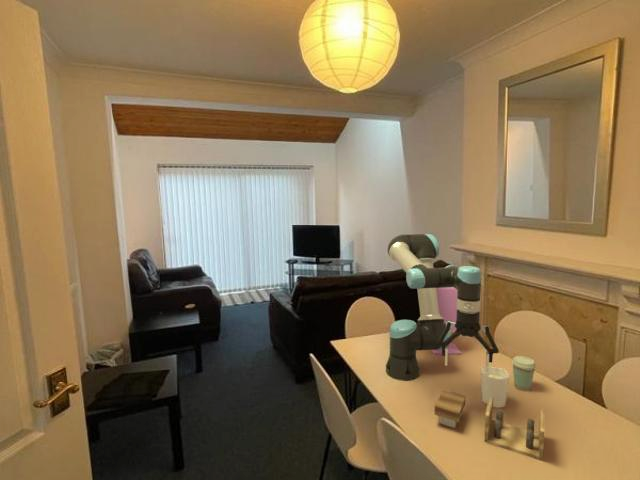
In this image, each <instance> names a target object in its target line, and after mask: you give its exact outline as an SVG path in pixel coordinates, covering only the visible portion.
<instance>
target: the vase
mask: <svg viewBox="0 0 640 480" xmlns="http://www.w3.org/2000/svg"><path fill="white" fill-rule="evenodd" d="M436 290H437V298H438V305H439V313H440V316H441V317H443V318H444V322H446V323H447V321H448V320H450V321H451V322H454V323H455V322H456V318H457V310H458V309H457V289H456V288H454V287H448V288H436ZM450 330H451V331H456V330H457V329H456V327H455V326H453V327H452V328H450ZM430 352H431V353H432V354H433V355H434V356H435V355H437V356H440V355H442V349H439V350H430ZM461 354H462V351H461V350H460V349H459V348H458V347H457V345H455V344H454V342H453V341H452V342H451V343H450V344H449V346H448V356H449V355H461Z"/></svg>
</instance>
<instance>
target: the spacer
mask: <svg viewBox="0 0 640 480" xmlns="http://www.w3.org/2000/svg"><path fill="white" fill-rule="evenodd" d="M439 417H440V419H439V422H440V423H439V424H441V425H443V426H448V427H451V428H453V429H455V428H456V427H457V425H458V422H457V421H454V420H450V419H447V418H444V417H441V416H439Z"/></svg>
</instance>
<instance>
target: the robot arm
mask: <svg viewBox="0 0 640 480" xmlns="http://www.w3.org/2000/svg"><path fill="white" fill-rule="evenodd" d="M389 241H390V242H389V243H388V245H387V253H388V255H389V257H390V259H392V260H393V261H394V262H396V263H398V265H399V266H400V267H401V268H402V270H403V271H404V272H405V274H406V275H405V278H406V283H407V286H408V287H409V289H417V297H418V306H419V315H420V316H419V318H418V319H417V322H415V321H414V320H411V319H399V320H396V321H393V323H392V324H390V327H389V328H390V329H389V355H388V358H387V362H386V364H385V373H386V374H387V376H389V377H391V378H393V379H395V380H399V381H413V380H415V379H417V378H419V376H420V373H421V372H420V371H421V369H420V366H419V365H420V364H419V362H418V360H417V352H418V351H431V350H439V349H442V356H443V357H445V358H444V366H448V356H449V355H448V346H449V344H450V343H451V342H453V341H455V340H456V338H457V337H459V336H460V335H461V336H462V337H470V338H473V337H475V339H477V341H478V342H479V343H480V344H481V345H482V346H483V348H484V349H485V350H486V351H485V367H486V372H488V370H489V365H490V363H493V356H494V354H499V352H500V351H499V348H498V345H497V344H496V342H495V340H494V338H493V336H492V334H491V332H490V327H489V324H487V323H486V324H484V325H481V324H480V313H481V312H480V311H481V295H482V294H481V293H482V291H481V290H482V270H481V269H480V268H479V267H477V266H472V265H469V266H468V265H463V266H457V265H451V264H450V265H447V266H445V267H434V263H435V262H436V261H437V260H436V258H438V257H439V254H440V245H439V242H438V240H437V238H436V236H434V235H433V234H431V233H418V234H415V233H413V234H400V235H397V236H395V237H393V238H392V239H391V240H389ZM448 287H454V288H456V289H457V309H458V310H457V318H456V322H455V323H454V322H451V321H450V320H448V321H447V323H446V322H444V318H443V317H441V316H440V313H439V305H438V298H437V290H436V288H448ZM453 326H455V327H456V329H457V330H454V332H453V333H452V332H451V331H452V330H450V328H452V327H453ZM481 330H482V331H483V332H484V333H485V335H486V337H487V339H488V342H489V343H490V345H491V346H490V345H489V343H488V342H486V340H485V339H484V338H483V337H482V336H481V334H480V333H479V332H480V331H481Z"/></svg>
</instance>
